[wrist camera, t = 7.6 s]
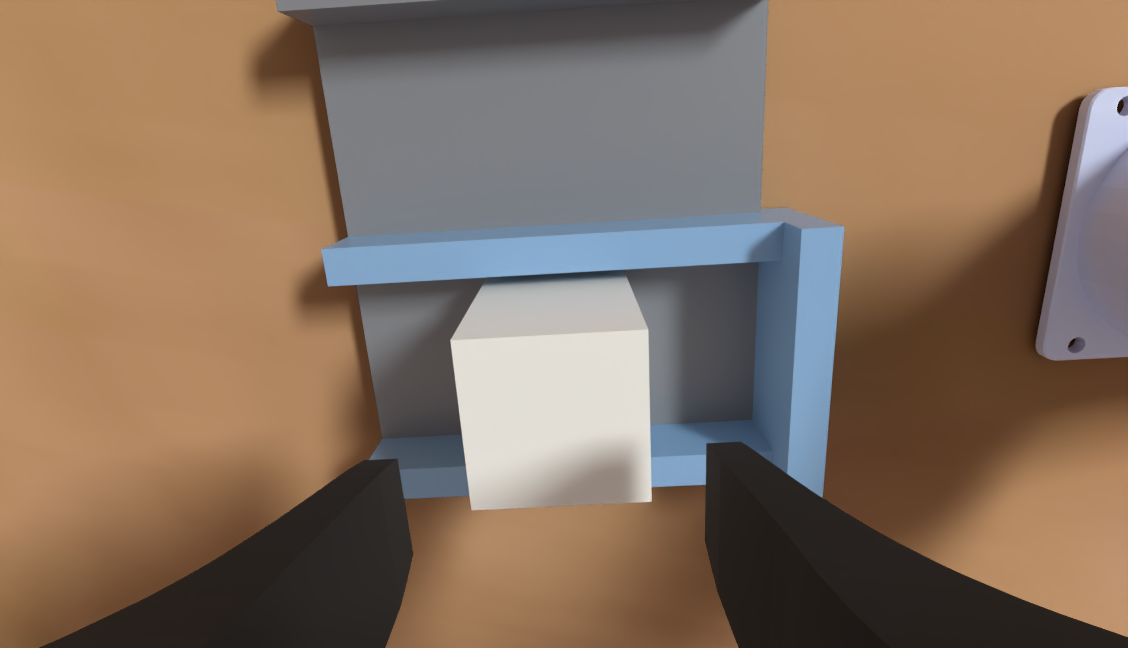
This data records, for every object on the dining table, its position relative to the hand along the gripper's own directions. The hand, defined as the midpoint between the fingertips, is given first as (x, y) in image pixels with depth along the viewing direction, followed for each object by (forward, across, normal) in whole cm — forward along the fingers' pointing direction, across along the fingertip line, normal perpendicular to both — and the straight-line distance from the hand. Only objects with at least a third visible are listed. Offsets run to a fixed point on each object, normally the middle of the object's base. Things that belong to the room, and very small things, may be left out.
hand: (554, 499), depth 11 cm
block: (+8, 0, 0) cm, 8 cm away
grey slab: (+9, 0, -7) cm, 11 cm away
